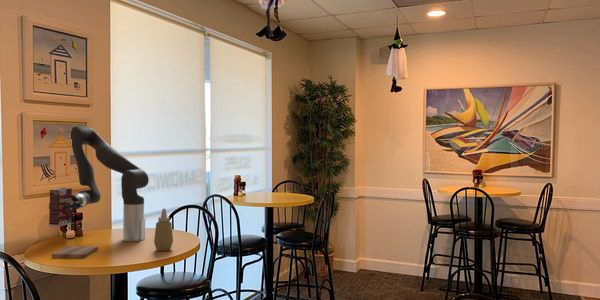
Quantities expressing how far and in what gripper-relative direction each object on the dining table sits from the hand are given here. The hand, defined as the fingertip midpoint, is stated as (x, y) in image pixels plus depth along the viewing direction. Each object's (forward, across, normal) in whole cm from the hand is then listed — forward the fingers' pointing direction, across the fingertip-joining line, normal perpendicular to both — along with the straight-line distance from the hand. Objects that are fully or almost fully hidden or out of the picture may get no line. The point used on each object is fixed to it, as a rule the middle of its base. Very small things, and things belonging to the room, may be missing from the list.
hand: (57, 207), depth 197 cm
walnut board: (+10, +12, +18) cm, 23 cm away
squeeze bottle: (+2, +46, +18) cm, 49 cm away
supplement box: (-2, 0, +8) cm, 9 cm away
